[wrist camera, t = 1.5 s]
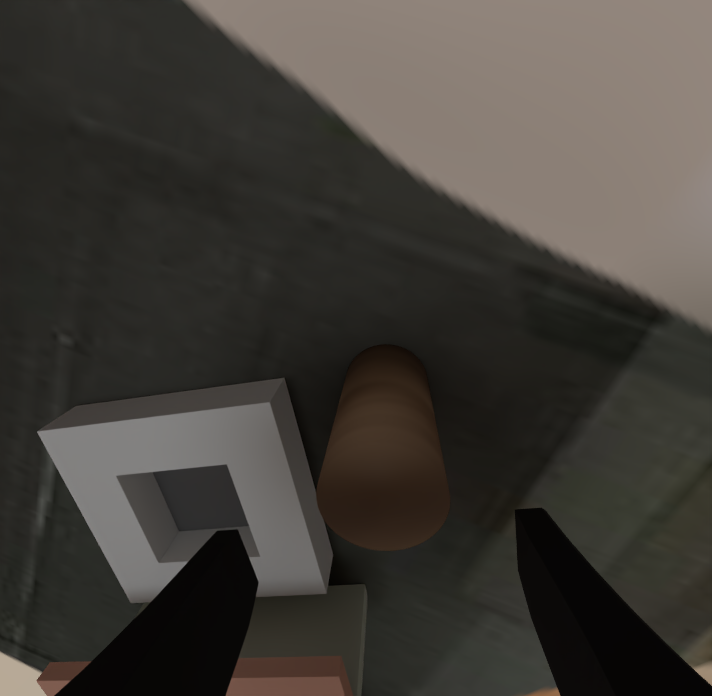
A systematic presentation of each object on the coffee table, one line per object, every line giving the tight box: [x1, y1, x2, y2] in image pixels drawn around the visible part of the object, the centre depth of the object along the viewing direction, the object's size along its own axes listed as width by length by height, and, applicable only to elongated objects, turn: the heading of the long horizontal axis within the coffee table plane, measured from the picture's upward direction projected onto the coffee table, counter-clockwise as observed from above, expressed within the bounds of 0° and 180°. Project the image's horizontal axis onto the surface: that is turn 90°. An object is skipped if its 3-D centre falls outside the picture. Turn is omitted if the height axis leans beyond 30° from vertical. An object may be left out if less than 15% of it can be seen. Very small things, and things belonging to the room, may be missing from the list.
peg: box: [316, 345, 450, 551], centre depth 15 cm, size 4×4×8 cm
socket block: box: [37, 378, 333, 603], centre depth 21 cm, size 12×12×2 cm
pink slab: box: [37, 584, 368, 696], centre depth 21 cm, size 5×15×7 cm, turn 100°
